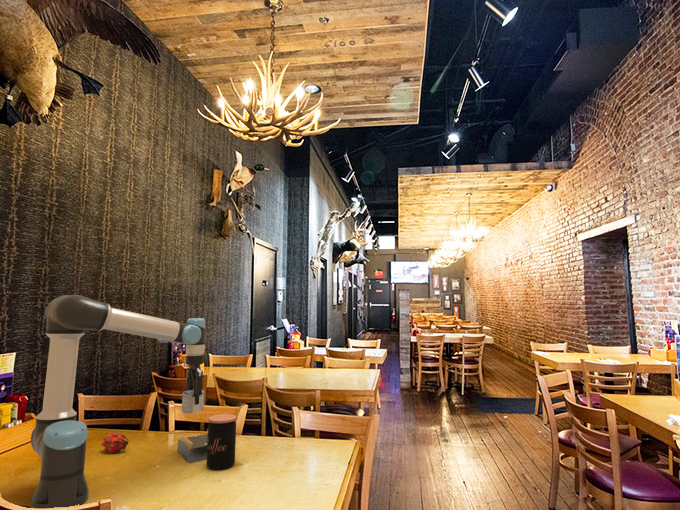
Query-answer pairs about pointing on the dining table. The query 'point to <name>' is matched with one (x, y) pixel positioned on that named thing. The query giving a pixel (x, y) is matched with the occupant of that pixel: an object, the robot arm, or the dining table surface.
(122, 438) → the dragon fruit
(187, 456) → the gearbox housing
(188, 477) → the dining table surface
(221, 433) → the coffee jar
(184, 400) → the medicine box
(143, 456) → the dining table surface
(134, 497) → the dining table surface
